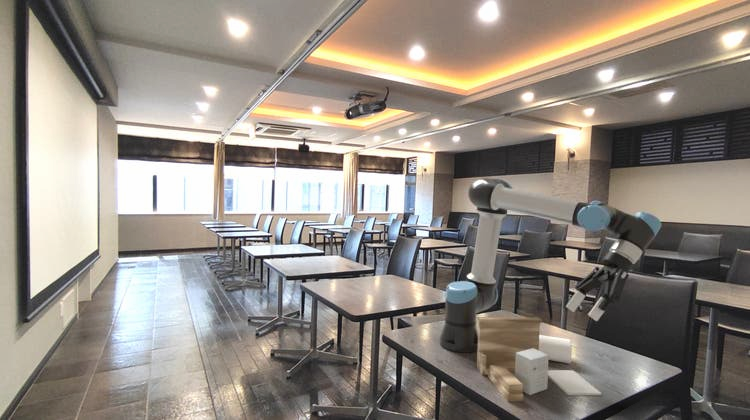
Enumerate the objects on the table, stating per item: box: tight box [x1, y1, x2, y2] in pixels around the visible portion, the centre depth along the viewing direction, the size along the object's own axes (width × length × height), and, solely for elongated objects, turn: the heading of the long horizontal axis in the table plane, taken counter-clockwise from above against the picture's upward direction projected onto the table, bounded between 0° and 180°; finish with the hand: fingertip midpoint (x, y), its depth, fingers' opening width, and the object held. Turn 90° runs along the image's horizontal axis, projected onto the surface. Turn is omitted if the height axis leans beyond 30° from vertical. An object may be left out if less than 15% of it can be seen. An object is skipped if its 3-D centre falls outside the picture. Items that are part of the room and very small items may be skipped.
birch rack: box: [476, 316, 543, 376], centre depth 118 cm, size 5×21×17 cm, turn 93°
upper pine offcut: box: [490, 365, 524, 394], centre depth 107 cm, size 12×4×2 cm, turn 8°
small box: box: [514, 348, 549, 396], centre depth 108 cm, size 8×6×10 cm
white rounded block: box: [539, 334, 573, 364], centre depth 130 cm, size 12×10×8 cm
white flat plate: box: [548, 369, 602, 396], centre depth 112 cm, size 14×10×1 cm
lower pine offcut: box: [487, 370, 524, 402], centre depth 108 cm, size 14×4×2 cm, turn 4°
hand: (580, 313), depth 110 cm, fingers open, 13 cm apart
